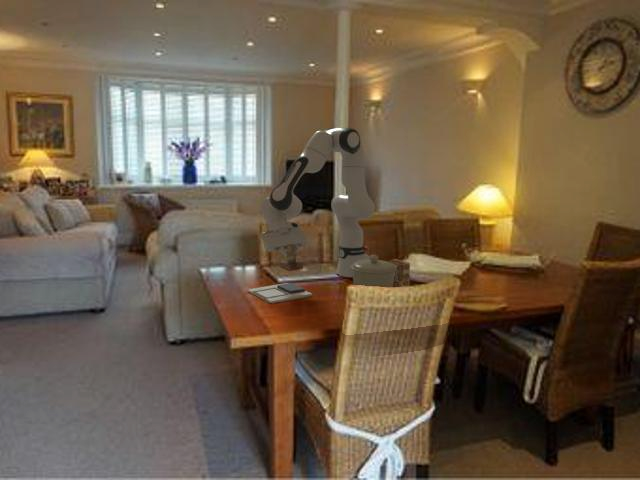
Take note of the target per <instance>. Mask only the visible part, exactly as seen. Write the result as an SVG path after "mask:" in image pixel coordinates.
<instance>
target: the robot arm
mask: <svg viewBox="0 0 640 480" xmlns="http://www.w3.org/2000/svg"><path fill="white" fill-rule="evenodd" d="M364 151H365V150H364V146H363V145H362V144H361V135H360V133H359V132H358V130H356V129H355V128H352V127H335V128H333V127H331V128H327V129H324V130H318V131H316V132H314V134H312V136H311V137H310V139H309V140H308V142H307V143H306V145H305V146H304V149H303V150H302V153H301V154H300V156H298V157H297V158H296V159H295V160H294V161H293V162H292V164H291V165H290V167H289V168H288V170H287V172H286V173H285V175H284V176H283V177H282V179H281V180H280V182H279V183H278V185H276V186H275V188H273V189H272V190H271V192H270V194H269V197H266V198H264V199H263V200H262V201H261V204H260V211H261V215H262V217H263V219H264V222H265V223H266V224H267V228H268V230H269V231H262V233H260V237H261V239H262V241H263V242H262V243H263V245H264V249H265V250H266V251H267V252H275V251H279V252H280V253H281V254H282V255H283V256H284V258H285V259H287V257H289V253H288V252H287V245H296V257H298V256H299V255H300V252H299V248H302V247H306V245H307V244H308V242H309V240H308V237H307V235H306V233H305V232H304V230H303V229H302V228H301V225H300V224H299V222H298V223H297V222H292V221H289V220H291V219H294V218H295V217H297V216H299V215H300V213H301V212H302V210H303V202H302V200H301V199H299V198H298V196H297V195H295V194H294V189H295V187H296V186H297V184H298V182H299V181H300V179H302V178H301V177H303V175H305V174H306V173H309V174H315V173H317V172H319V171H321V170H322V168H323V167H324V165H325V164H326V161H327V159H328V158H329V155H330V153H331V152H336V153H340V154H341V155H340V156H341V171H340V172H341V173H340V174H341V177H340V179H341V184H342V185H343V187H344V188H345V190H346V193H344V194H343V193H342V194H336V195H335V196H334V197H333V198H332V199H331V203H330V204H331V205H330V207H331V210H332V212H333V213H334V215H335V217H336V219H337V222H338V226H339V232H340V233H339V234H340V235H339V246H338V254H339V255H338V257H339V258H338V265H337V269H336V272H337V273H338V274H339V275H340V277H345V278H353V271H352V268H351V265H352V264H354V263H355V262H357V261H361V260H370V259H369V258H370V256H369V255H368V254H367V253H366V251H367V252H369V250H370V247H369V246H364V245H363V244H364V230H363V228H362V227H361V226H360V224H359V221H358V220H369V219H370V218H372V217H373V215H374V213H375V209H376V207H375V203H374V202H373V200H372V199H371V197H370V196H369V193H368V191H367V187H366V173H365V170H366V169H365V168H366V167H365V166H366V161H365V160H366V158H365V152H364ZM339 275H338V276H339Z"/></svg>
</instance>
